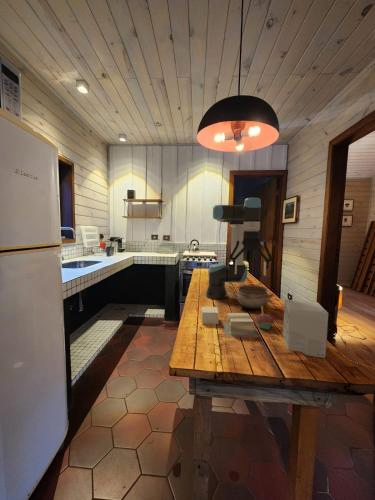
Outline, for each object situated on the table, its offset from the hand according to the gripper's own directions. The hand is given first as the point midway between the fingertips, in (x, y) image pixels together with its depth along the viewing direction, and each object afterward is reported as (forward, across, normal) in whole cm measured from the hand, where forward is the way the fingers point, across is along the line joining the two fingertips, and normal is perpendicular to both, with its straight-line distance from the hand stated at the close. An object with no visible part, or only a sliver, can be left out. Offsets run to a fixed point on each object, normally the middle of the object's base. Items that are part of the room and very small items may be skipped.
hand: (249, 274), depth 106 cm
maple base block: (+25, -4, -8) cm, 26 cm away
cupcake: (+26, +8, -2) cm, 27 cm away
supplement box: (+26, +21, -15) cm, 37 cm away
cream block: (+26, -19, -2) cm, 32 cm away
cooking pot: (+26, +3, +27) cm, 38 cm away
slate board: (+26, -4, -8) cm, 27 cm away
